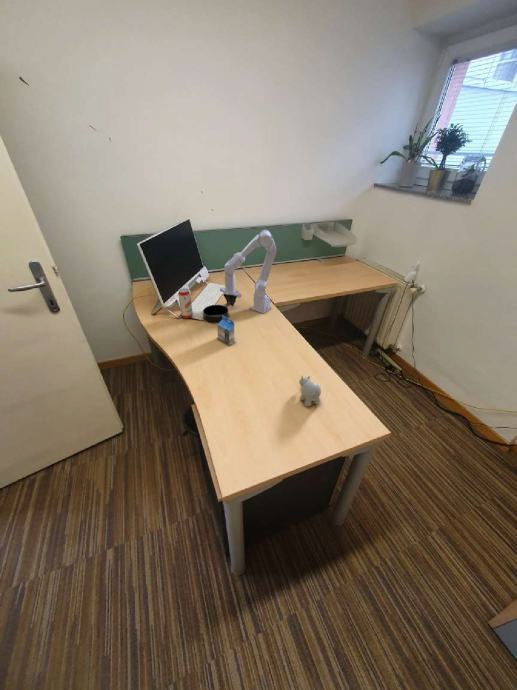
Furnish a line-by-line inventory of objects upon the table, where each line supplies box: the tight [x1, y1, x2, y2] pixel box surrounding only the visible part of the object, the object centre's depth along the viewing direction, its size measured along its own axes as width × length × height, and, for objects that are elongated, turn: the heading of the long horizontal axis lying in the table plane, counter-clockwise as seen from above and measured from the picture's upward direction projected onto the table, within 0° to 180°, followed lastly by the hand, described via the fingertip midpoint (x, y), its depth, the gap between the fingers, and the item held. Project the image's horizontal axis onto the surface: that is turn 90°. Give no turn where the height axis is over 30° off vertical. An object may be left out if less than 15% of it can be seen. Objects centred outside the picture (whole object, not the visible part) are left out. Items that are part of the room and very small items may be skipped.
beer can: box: [177, 288, 194, 320], centre depth 150 cm, size 6×6×16 cm
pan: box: [202, 299, 237, 324], centre depth 158 cm, size 14×24×4 cm, turn 145°
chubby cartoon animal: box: [298, 375, 322, 408], centre depth 105 cm, size 7×12×8 cm, turn 16°
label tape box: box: [216, 315, 235, 346], centre depth 133 cm, size 9×4×12 cm, turn 47°
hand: (230, 305), depth 164 cm, fingers closed on pan, 2 cm apart
